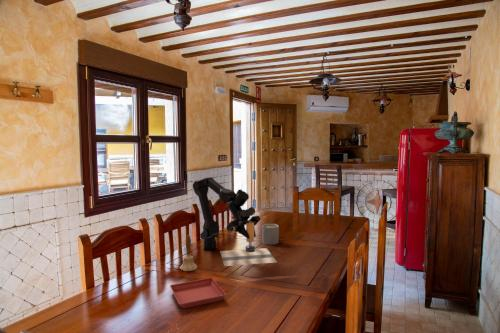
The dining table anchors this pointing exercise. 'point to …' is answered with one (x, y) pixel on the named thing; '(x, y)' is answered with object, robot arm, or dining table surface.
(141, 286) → the dining table surface
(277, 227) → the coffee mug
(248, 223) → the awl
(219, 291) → the plant saucer
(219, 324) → the dining table surface
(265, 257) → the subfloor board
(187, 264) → the hand bell
